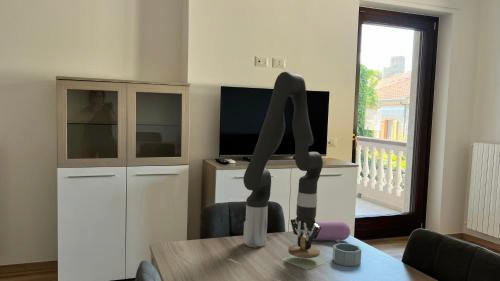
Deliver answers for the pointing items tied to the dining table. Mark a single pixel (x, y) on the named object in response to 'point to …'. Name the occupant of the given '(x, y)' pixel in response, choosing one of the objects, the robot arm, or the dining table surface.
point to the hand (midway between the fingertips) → (304, 247)
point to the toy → (333, 231)
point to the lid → (303, 250)
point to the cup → (346, 254)
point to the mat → (304, 261)
